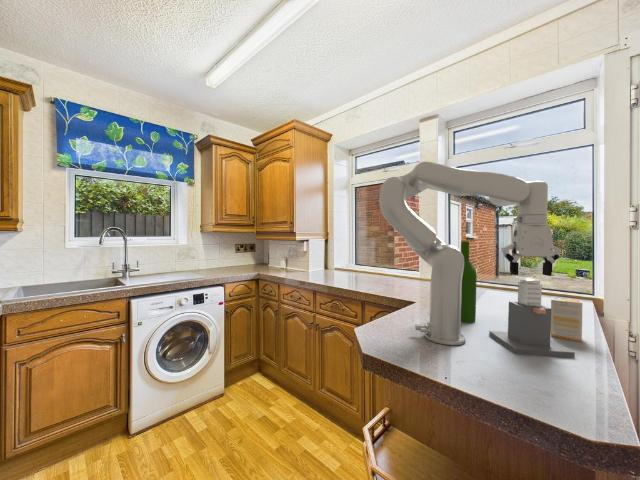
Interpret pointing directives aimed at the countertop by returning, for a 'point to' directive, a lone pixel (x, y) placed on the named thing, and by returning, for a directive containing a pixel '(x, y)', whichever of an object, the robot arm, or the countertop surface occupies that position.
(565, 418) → the countertop surface
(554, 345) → the stand
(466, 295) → the wine bottle
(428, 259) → the robot arm
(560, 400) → the countertop surface
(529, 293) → the column
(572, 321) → the supplement box
